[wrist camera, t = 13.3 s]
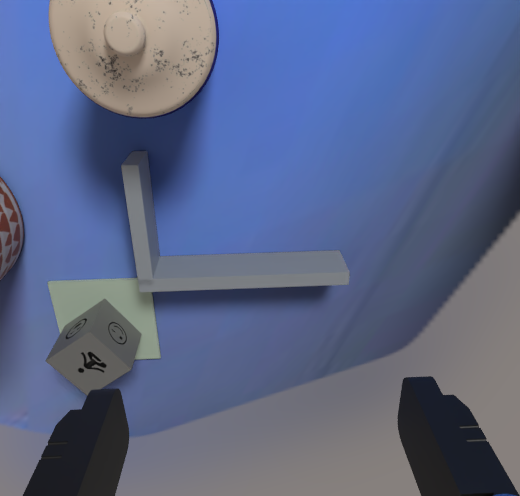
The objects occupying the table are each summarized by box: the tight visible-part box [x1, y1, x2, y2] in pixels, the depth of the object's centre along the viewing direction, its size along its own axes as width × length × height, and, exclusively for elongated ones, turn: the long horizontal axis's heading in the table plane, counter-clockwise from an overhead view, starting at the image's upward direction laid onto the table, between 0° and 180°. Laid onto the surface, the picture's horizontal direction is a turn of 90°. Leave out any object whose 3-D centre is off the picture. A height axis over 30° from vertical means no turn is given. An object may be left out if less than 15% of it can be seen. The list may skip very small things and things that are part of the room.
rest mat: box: [48, 278, 161, 360], centre depth 43 cm, size 9×9×1 cm
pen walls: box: [121, 151, 350, 292], centre depth 37 cm, size 17×11×4 cm, turn 91°
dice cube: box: [46, 299, 142, 396], centre depth 41 cm, size 5×5×5 cm
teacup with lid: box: [49, 0, 219, 118], centre depth 27 cm, size 12×9×12 cm
